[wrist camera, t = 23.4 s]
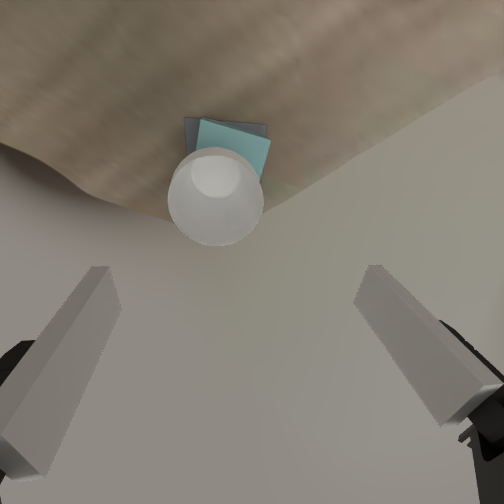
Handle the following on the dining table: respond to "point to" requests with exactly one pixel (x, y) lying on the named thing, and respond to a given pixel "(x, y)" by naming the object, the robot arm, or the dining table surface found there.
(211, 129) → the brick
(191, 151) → the base mat
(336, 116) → the dining table surface
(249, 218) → the cup
